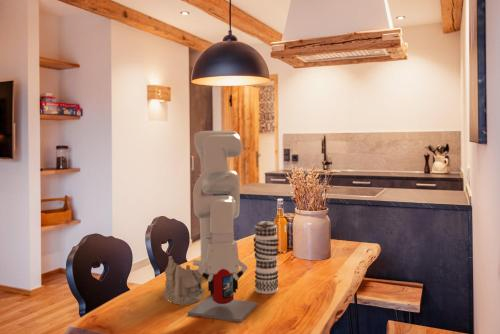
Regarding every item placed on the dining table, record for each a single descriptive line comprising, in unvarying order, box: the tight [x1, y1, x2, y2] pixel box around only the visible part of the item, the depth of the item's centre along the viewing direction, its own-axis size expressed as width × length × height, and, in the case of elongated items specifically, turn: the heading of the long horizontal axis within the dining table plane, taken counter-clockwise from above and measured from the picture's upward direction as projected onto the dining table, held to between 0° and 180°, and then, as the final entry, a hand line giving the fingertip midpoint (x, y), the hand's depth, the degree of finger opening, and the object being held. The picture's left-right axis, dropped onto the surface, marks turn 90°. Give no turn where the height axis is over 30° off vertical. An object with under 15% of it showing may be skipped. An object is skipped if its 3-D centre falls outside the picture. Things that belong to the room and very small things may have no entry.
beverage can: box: [212, 267, 235, 304], centre depth 144 cm, size 7×7×12 cm
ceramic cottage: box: [163, 255, 205, 306], centre depth 158 cm, size 16×16×15 cm
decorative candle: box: [253, 220, 280, 295], centre depth 163 cm, size 9×9×25 cm
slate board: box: [187, 295, 258, 323], centre depth 144 cm, size 18×15×1 cm
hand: (223, 291), depth 144 cm, fingers closed on beverage can, 6 cm apart
